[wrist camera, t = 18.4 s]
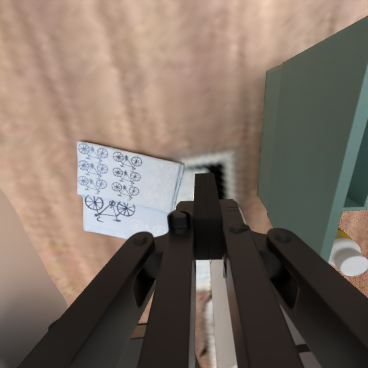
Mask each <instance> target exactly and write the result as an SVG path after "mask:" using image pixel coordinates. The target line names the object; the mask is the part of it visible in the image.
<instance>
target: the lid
mask: <svg viewBox="0 0 368 368" xmlns="http://www.w3.org/2000/svg"><path fill="white" fill-rule="evenodd" d="M367 119H368V16H366V17H364V18H363V19H361V20H359V21H357V22H355V23H354V24H352V25H350V26H348V27H346V28H345V29H343V30H341V31H339V32H337V33H336V34H334V35H332V36H330V37H328V38H327V39H325V40H323V41H321V42H319V43H318V44H316V45H314V46H312V47H310V48H309V49H307V50H305V51H303V52H301V53H300V54H298V55H296V56H294V57H292V58H291V59H289V60H287V61H285V62H283V64H282V74H281V83H280V93H279V103H278V113H277V122H276V132H275V142H274V151H273V161H272V171H271V181H270V190H269V200H268V210H267V215H268V218H269V220H270V222H271V225H272V227H273V228H283V229H287V230H289V231H292V232H293V233H295V234H296V235H297V236H298V237H299V238H300V239H301V240H303V241H304V242H305V243H306V244H307V245H308V246H309V247H310V248H312V249H313V250H314V251H315V252H316V253H317V254H318V255H320V256H321V257H322V258H323V259H324V260H325V261H326V262H327V263H328V262H329V258H330V254H331V251H332V247H333V243H334V240H335V236H336V232H337V229H338V225H339V221H340V218H341V214H342V210H343V207H344V203H345V199H346V196H347V192H348V189H349V185H350V181H351V178H352V174H353V170H354V167H355V163H356V159H357V156H358V152H359V148H360V145H361V141H362V137H363V134H364V130H365V126H366V123H367Z"/></svg>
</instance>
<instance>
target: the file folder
mask: <svg viewBox="0 0 368 368" xmlns="http://www.w3.org/2000/svg"><path fill="white" fill-rule="evenodd" d="M146 326H147V324H138V325H137V326H136V328H135V330H134V332H133V334H132V336H131V338H130V340H129V342H128V344H127V346H126V348H125V350H124V352H123V354H122V356H121V358H120V360H119V362H118V364H117V366H116V368H137V365H138V360H139V356H140V352H141V347H142V343H143V339H144V334H145V330H146ZM195 368H199V367H198V364H197V362H196V359H195Z"/></svg>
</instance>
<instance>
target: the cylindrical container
mask: <svg viewBox="0 0 368 368" xmlns="http://www.w3.org/2000/svg"><path fill="white" fill-rule="evenodd" d="M238 208H239V207H238ZM239 210H240V213H241V215H242V218H243V221H244V223H245V224H247V223H246V221H245V218H244V216H243V213H242V211H241V209H240V208H239ZM209 261H210V275H211V289H212V303H213V317H214V332H215V347H216V361H217V368H238V367H237V360H236V353H235V346H234V339H233V332H232V325H231V318H230V311H229V304H228V297H227V290H226V283H225V278H223V260H209Z"/></svg>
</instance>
